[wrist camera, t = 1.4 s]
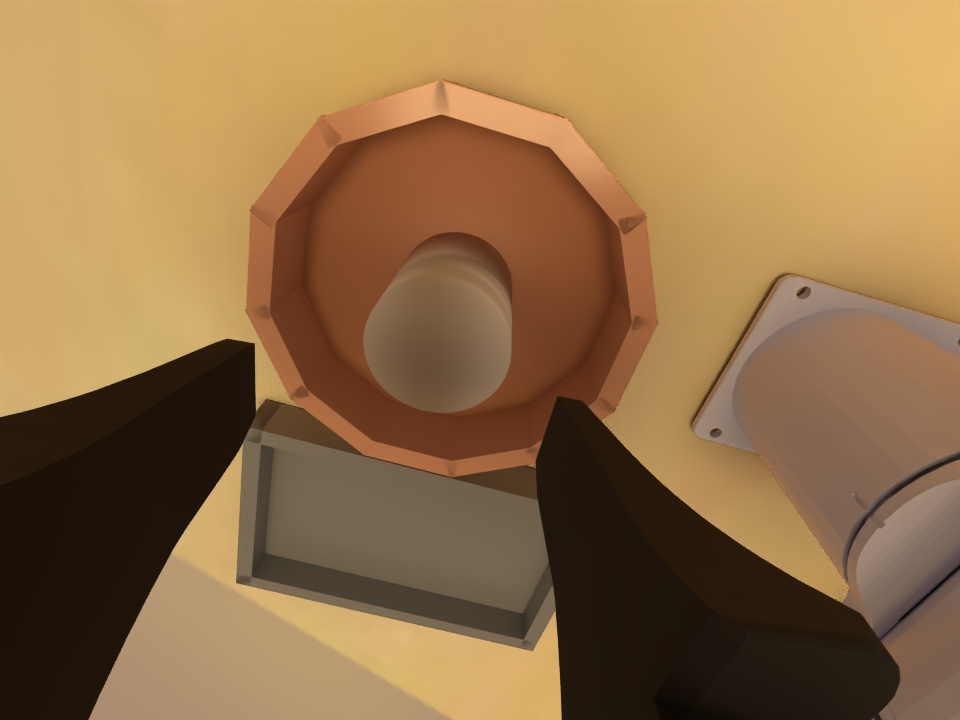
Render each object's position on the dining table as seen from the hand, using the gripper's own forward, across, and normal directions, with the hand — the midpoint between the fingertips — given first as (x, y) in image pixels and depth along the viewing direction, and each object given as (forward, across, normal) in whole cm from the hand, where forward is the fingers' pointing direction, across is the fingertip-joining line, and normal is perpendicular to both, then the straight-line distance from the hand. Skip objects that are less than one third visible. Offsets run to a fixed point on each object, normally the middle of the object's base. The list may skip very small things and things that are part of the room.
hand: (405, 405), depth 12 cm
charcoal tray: (+10, -1, +14) cm, 17 cm away
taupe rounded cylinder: (+8, -1, 0) cm, 9 cm away
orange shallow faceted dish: (+10, -1, 0) cm, 10 cm away
